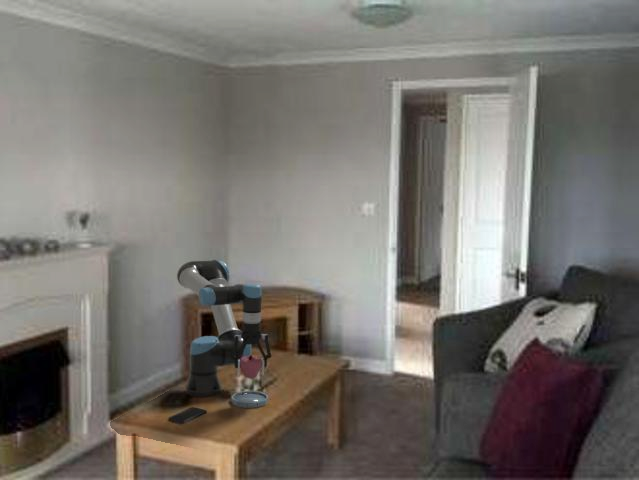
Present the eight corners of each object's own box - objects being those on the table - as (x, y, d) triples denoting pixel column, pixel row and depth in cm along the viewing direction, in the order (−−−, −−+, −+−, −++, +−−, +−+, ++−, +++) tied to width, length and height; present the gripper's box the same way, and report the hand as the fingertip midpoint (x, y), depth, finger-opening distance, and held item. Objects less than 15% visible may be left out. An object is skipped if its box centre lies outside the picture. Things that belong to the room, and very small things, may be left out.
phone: (208, 410, 266) (182, 422, 253) (208, 413, 267) (182, 425, 253) (192, 406, 270) (166, 418, 257) (192, 409, 270) (166, 421, 257)
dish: (233, 408, 272) (234, 403, 271) (229, 396, 286) (229, 391, 286) (270, 406, 275) (270, 401, 275) (264, 394, 290) (265, 390, 289)
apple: (265, 378, 279) (266, 354, 278) (248, 382, 273) (249, 358, 272) (251, 373, 286) (252, 350, 285) (234, 376, 280) (235, 353, 279)
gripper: (225, 324, 271) (224, 379, 273) (279, 323, 276) (278, 376, 278) (223, 320, 278) (222, 373, 280) (276, 319, 283) (275, 371, 286)
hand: (250, 375), depth 279 cm, fingers closed on apple, 9 cm apart
